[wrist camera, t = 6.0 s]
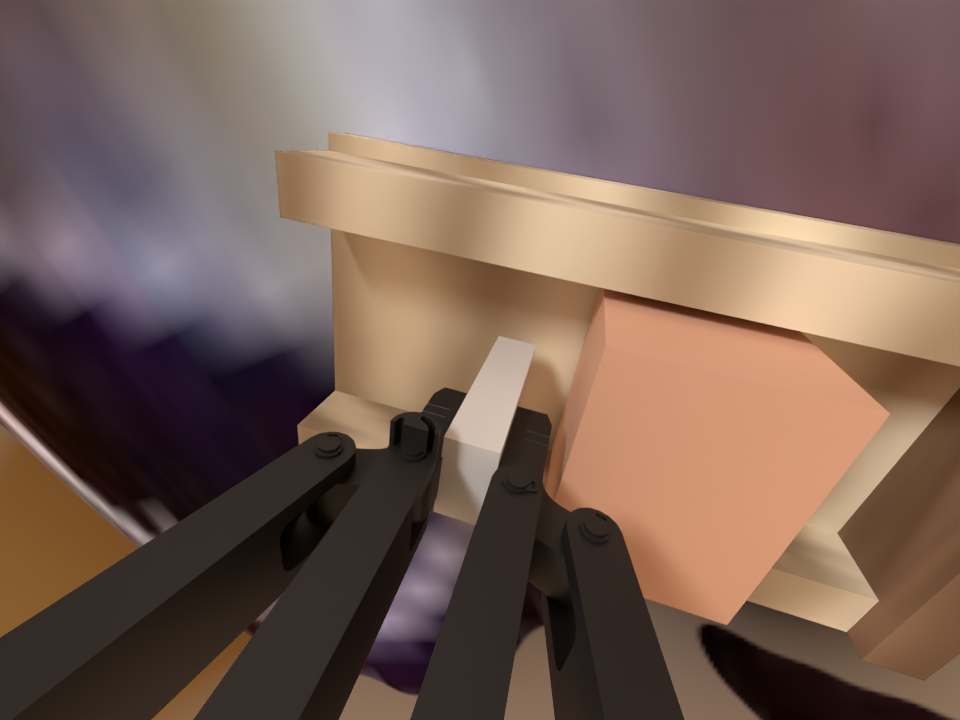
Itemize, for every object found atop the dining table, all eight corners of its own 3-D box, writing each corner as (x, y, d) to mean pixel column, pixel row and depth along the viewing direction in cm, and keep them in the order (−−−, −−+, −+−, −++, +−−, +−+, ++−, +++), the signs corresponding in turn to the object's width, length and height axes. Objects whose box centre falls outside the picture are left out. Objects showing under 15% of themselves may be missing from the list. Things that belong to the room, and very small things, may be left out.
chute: (348, 418, 23) (287, 484, 19) (345, 133, 16) (249, 127, 12) (840, 563, 19) (912, 689, 15) (1101, 269, 13) (1381, 338, 8)
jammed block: (552, 447, 19) (534, 562, 14) (603, 277, 15) (605, 345, 10) (690, 486, 18) (726, 624, 13) (782, 315, 14) (889, 414, 9)
